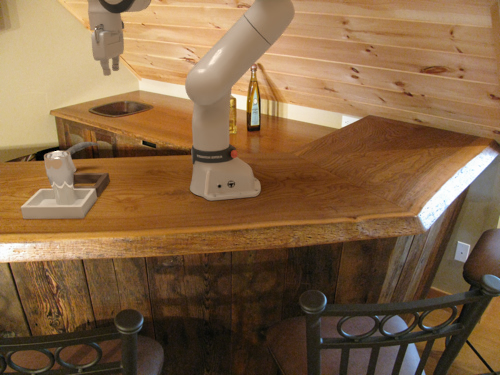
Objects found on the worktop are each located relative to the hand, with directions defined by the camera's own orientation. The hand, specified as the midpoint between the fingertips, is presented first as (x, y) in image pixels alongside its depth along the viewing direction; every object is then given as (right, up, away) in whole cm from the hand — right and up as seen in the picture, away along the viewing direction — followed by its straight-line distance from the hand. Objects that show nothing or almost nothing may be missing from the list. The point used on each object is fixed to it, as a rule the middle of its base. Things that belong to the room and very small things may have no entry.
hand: (111, 72), depth 123 cm
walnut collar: (-10, -35, +4) cm, 37 cm away
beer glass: (-11, -40, -6) cm, 42 cm away
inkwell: (-19, -29, +19) cm, 40 cm away
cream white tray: (-11, -41, -8) cm, 43 cm away
